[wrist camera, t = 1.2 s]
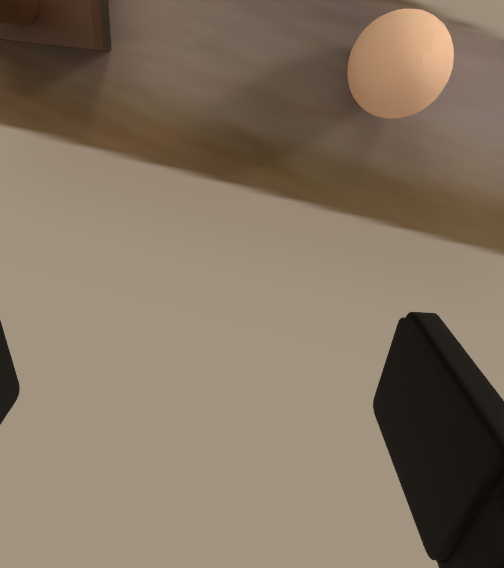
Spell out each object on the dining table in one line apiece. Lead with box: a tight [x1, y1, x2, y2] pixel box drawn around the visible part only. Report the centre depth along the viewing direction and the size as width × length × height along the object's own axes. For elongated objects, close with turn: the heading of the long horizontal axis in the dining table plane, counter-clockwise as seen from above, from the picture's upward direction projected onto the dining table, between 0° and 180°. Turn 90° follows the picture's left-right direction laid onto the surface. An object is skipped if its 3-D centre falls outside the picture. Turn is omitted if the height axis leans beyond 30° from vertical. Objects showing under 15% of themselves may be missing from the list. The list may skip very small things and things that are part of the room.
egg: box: [347, 8, 454, 119], centre depth 23 cm, size 6×6×8 cm
